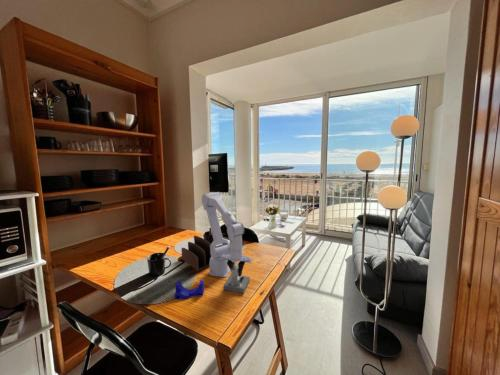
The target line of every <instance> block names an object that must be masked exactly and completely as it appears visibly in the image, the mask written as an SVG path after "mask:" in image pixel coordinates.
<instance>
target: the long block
mask: <svg viewBox="0 0 500 375" xmlns="http://www.w3.org/2000/svg"><path fill="white" fill-rule="evenodd" d="M238 263H239V262H235V265H234V266H233V268H232V269H231V270H230V275H231V278H232V283H233V284H238V283H239V281H240V279H241V277H242V276H243V274H242V275H241V276H239V267H238Z"/></svg>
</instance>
